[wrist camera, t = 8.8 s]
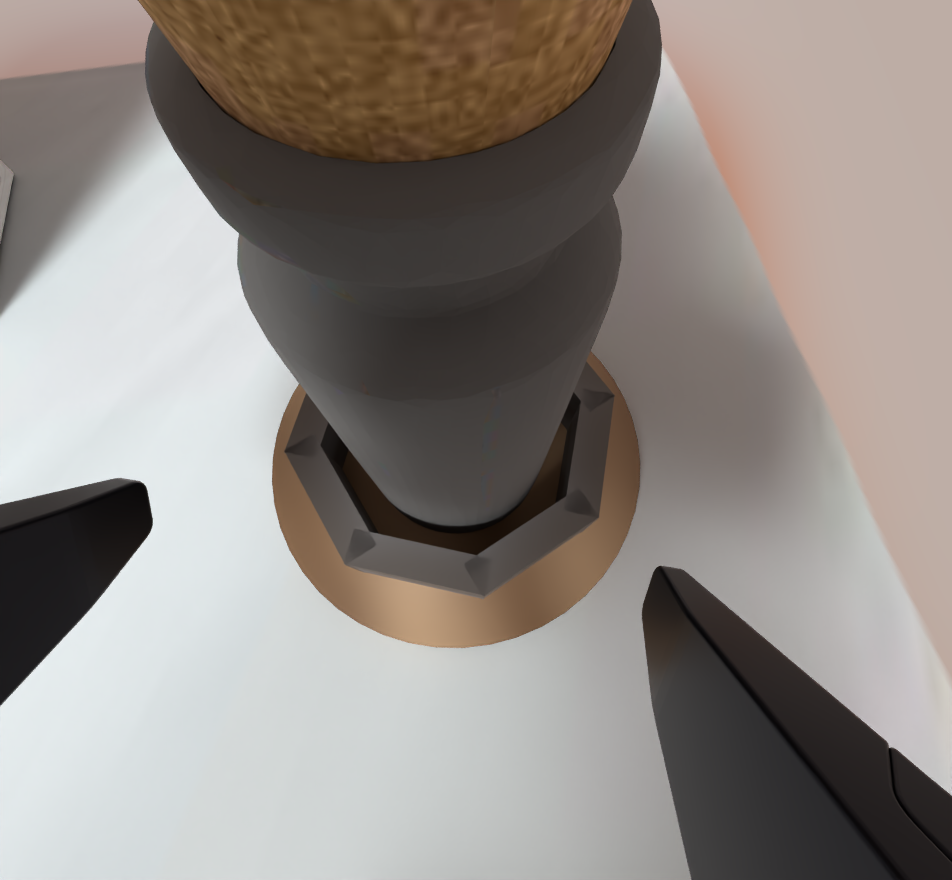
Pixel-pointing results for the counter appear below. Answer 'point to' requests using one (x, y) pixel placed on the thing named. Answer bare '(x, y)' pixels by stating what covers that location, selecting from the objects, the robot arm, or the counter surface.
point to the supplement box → (4, 192)
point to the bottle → (418, 212)
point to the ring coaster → (461, 554)
